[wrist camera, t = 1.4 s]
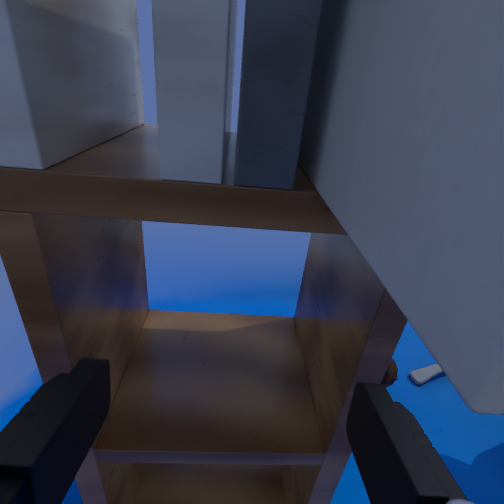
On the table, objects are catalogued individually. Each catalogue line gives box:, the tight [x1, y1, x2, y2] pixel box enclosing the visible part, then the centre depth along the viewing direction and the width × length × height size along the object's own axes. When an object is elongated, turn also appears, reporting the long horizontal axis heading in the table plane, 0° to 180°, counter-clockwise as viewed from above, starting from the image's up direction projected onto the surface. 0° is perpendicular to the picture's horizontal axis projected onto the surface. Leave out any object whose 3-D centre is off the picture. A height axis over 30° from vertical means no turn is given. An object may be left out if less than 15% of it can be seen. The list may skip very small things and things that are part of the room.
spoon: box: [410, 364, 443, 385], centre depth 44 cm, size 3×12×2 cm, turn 109°
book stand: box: [0, 0, 407, 504], centre depth 20 cm, size 12×16×43 cm
